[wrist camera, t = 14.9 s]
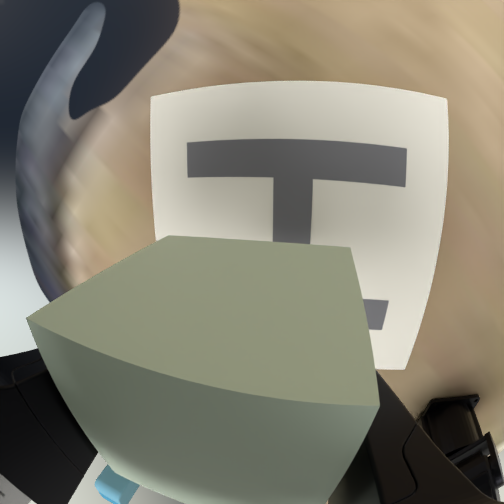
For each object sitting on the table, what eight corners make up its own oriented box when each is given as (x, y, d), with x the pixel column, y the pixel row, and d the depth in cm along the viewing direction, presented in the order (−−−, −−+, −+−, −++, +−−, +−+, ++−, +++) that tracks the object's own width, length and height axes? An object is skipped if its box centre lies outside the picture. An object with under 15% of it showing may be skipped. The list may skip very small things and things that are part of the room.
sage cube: (350, 247, 7) (379, 405, 2) (326, 391, 9) (306, 528, 4) (168, 235, 9) (26, 317, 4) (186, 368, 10) (114, 472, 5)
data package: (128, 435, 36) (92, 483, 25) (151, 449, 35) (117, 499, 24) (130, 458, 40) (102, 497, 29) (149, 469, 40) (123, 510, 29)
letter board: (441, 101, 13) (447, 98, 12) (402, 362, 20) (404, 369, 19) (158, 98, 18) (150, 96, 17) (175, 335, 24) (170, 341, 23)
